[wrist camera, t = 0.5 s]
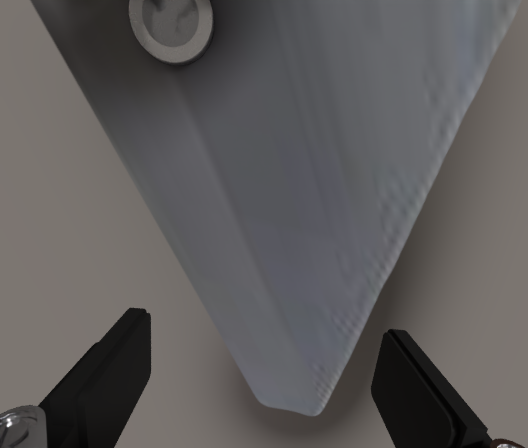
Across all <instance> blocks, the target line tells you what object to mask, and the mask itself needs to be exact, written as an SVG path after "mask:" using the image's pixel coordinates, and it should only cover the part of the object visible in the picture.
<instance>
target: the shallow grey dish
mask: <svg viewBox="0 0 528 448" xmlns="http://www.w3.org/2000/svg"><path fill="white" fill-rule="evenodd" d="M129 18H130V23H131V26H132V29H133V32H134V34H135V36H136V38H137V40H138V41H139V42H140V44H141V45H142V46H143V47H144V48H145V49H146V50H147V51H148V52H149V53H150V54H151V55H152V56H153V57H154V58H156V59H157V60H159V61H161V62H163V63H165V64H168V65H173V66H183V65H187V64H190V63H193V62H194V61H196V60H198V59H199V58H200V57H201V56H202V55H203V54H204V53H205V52H206V50H207V49H208V47H209V45H210V43H211V41H212V38H213V34H214V14H213V9H212V6H211V3H210V0H130V1H129Z"/></svg>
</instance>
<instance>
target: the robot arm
mask: <svg viewBox="0 0 528 448" xmlns="http://www.w3.org/2000/svg"><path fill="white" fill-rule="evenodd" d="M150 374H151V316H150V313H147V312H146V310H145V309H140V308H129V309H128V310H127V311H126V312H125V313H124V314H123V316H122V317H121V318H120V319H119V320H118V321H117V322H116V323H115V325H114V326H113V327H112V328H111V329H110V330H109V331H108V332H107V333H106V335H105V336H104V337H103V338H102V339H101V340H100V341H99V342H97V343H95V344H94V345H93V346H92V347H91V348H90V349H89V350H88V351H87V352H86V353H85V354H84V356H83V357H82V358H81V359H80V360H79V361H78V362H77V363H76V364H75V366H74V367H73V368H72V369H71V370H70V371H69V372H68V373H67V374H66V375H65V377H64V378H63V379H62V380H61V381H60V382H59V383H58V384H57V385H56V386H55V388H54V389H53V390H52V391H51V392H50V393H49V394H48V395H47V397H45V399H44V400H43V401H42V402H41V403H40V404H39V405H38V406H33V405H28V406H20V407H17V408H13V409H10V410H8V411H6V412H4V413H2V414H0V448H114V447H115V445H116V443H117V441H118V439H119V437H120V435H121V433H122V431H123V429H124V427H125V425H126V423H127V421H128V419H129V418H130V415H131V413H132V412H133V409H134V408H135V406H136V404H137V402H138V400H139V398H140V396H141V394H142V392H143V390H144V388H145V386H146V384H147V382H148V380H149V378H150ZM371 394H372V397H373V400H374V402H375V403H376V406H377V408H378V410H379V413H380V415H381V417H382V419H383V421H384V423H385V426H386V428H387V430H388V432H389V434H390V436H391V439H392V441H393V443H394V445H395V447H396V448H525V447H523V446H522V445H520V444H517V443H515V442H513V441H510V440H506V439H494V440H492V439H491V438H490V437H489V435H488V434H487V430H488V429H487V427H486V426H485V425H484V424H483V423H482V421H481V420H480V419H479V418H478V417H477V415H476V414H475V413H474V412H473V411H472V410H471V408H470V407H469V406H468V405H467V403H466V402H465V401H464V400H463V399H462V398H461V396H460V395H459V394H458V393H457V391H456V390H455V389H454V388H453V387H452V385H451V384H450V383H449V382H448V381H447V379H446V378H445V377H444V376H443V375H442V374H441V372H440V371H439V370H438V369H437V368H436V366H435V365H434V364H433V363H432V361H431V360H430V359H429V358H428V357H427V355H426V354H425V353H424V352H423V351H422V349H421V348H420V347H419V346H418V345H417V343H416V342H415V341H414V340H413V339H412V338H411V336H410V335H409V334H408V333H407V332H406V331H405V330H396V329H389V330H388V332H387V333H384V335H383V339H382V343H381V347H380V351H379V356H378V360H377V364H376V369H375V372H374V377H373V381H372V386H371Z"/></svg>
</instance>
